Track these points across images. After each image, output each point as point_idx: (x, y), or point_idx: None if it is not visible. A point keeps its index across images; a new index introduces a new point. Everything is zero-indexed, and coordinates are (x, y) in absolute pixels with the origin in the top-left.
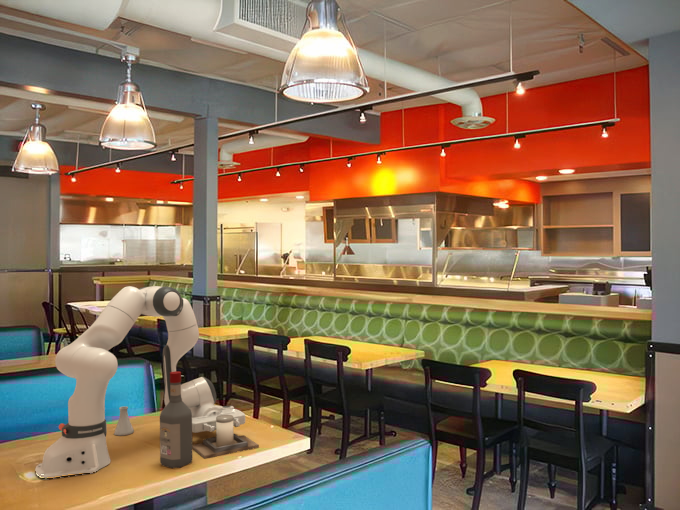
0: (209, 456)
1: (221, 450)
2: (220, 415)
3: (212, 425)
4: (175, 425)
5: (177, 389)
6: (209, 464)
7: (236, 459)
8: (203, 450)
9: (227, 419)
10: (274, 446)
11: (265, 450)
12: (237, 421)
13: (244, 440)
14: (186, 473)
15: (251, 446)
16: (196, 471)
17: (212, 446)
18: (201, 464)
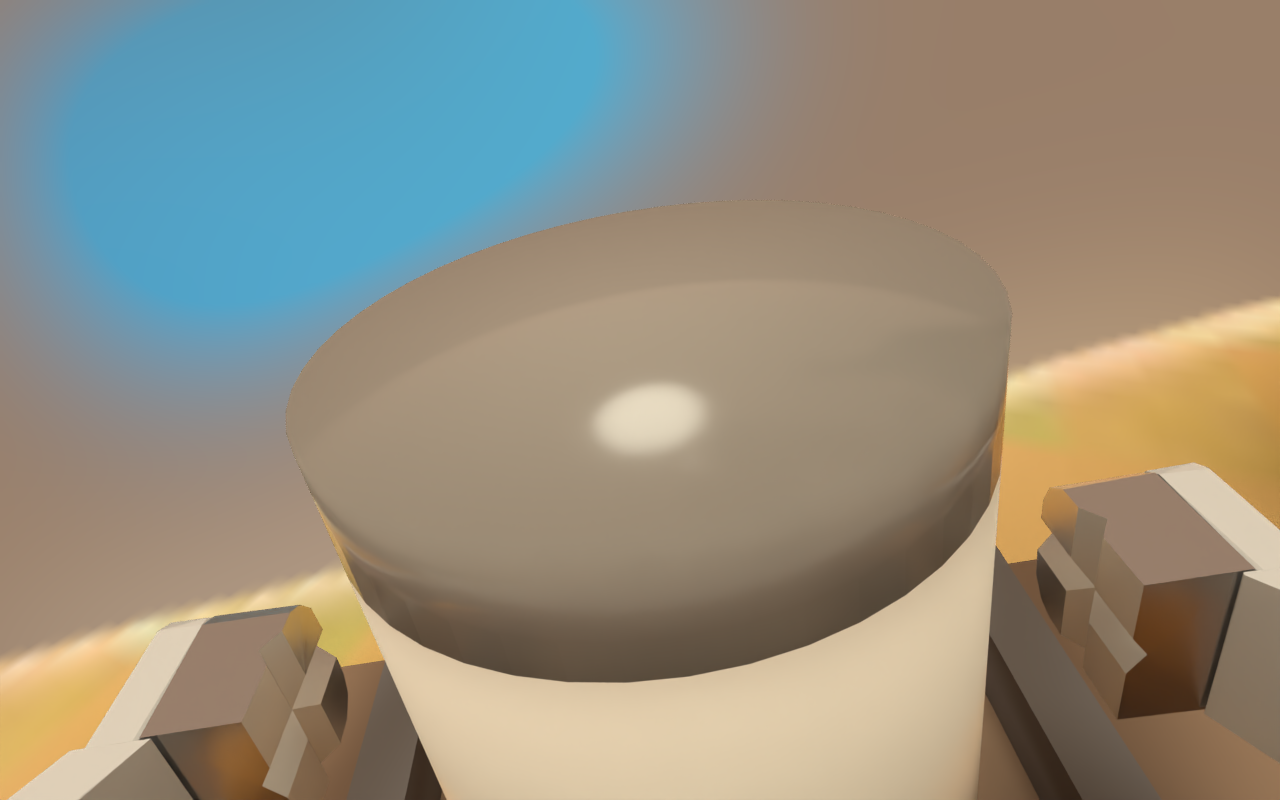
0: None
1: None
2: (749, 472)
3: (1145, 553)
4: None
5: None
6: (1044, 429)
7: None
8: (1260, 772)
9: (640, 219)
10: (86, 679)
11: (287, 594)
12: (175, 660)
13: (375, 720)
14: (1276, 325)
15: (368, 666)
16: (1169, 340)
17: (1046, 632)
18: (1154, 445)
